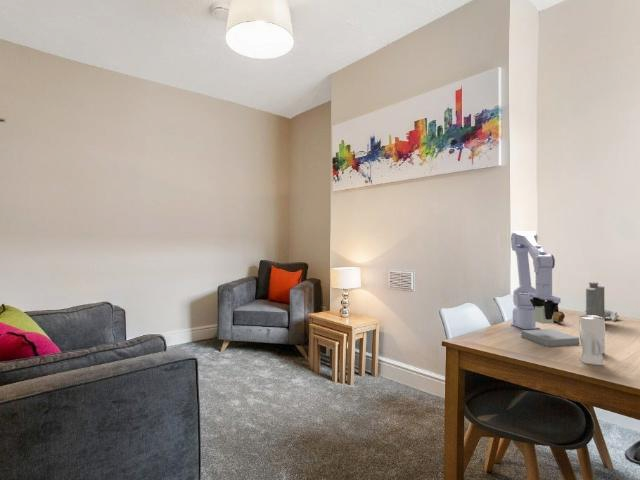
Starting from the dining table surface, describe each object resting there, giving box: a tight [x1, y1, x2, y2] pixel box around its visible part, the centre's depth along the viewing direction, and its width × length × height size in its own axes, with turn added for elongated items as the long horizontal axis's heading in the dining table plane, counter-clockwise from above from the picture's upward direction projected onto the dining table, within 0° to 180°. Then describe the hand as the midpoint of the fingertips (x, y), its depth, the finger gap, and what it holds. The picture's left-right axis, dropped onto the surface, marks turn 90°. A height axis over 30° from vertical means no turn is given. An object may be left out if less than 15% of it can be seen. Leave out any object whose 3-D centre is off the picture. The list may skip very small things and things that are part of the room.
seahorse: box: [581, 309, 620, 322], centre depth 179 cm, size 5×12×20 cm
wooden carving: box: [553, 305, 566, 323], centre depth 178 cm, size 16×5×10 cm, turn 179°
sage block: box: [535, 306, 554, 325], centre depth 147 cm, size 4×4×6 cm
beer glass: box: [578, 314, 606, 366], centre depth 121 cm, size 7×7×15 cm
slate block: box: [520, 328, 580, 347], centre depth 146 cm, size 14×14×3 cm
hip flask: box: [585, 281, 605, 322], centre depth 169 cm, size 16×4×20 cm, turn 126°
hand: (543, 317), depth 147 cm, fingers closed on sage block, 4 cm apart
